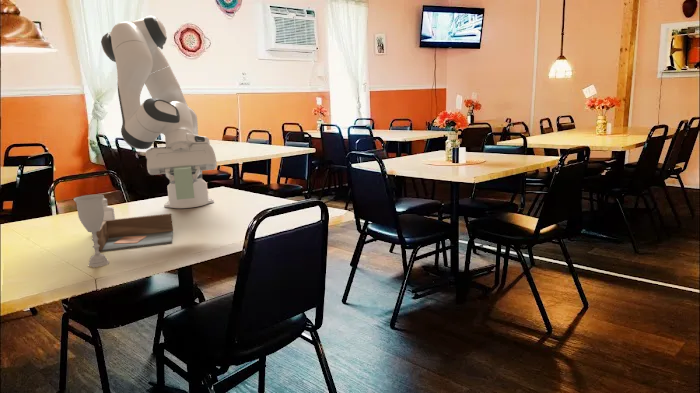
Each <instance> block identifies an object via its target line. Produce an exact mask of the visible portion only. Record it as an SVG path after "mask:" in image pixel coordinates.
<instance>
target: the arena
mask: <svg viewBox="0 0 700 393" xmlns="http://www.w3.org/2000/svg"><path fill="white" fill-rule="evenodd" d="M172 216H173V215H172V213H164V214H163V213H162V214H154V215H144V216H134V217H133V216H132V217H124V218H115V219H113V220H103V222H102V225H101V227H100V230H99V231H97V232H96V235H97V238H98V242H97V243H98V245H100V246H99V252H100V253H101V252H109V251H119V250H126V249H135V248H143V247H144V248H145V247H150V246H151V247H152V246H153V247H154V246H161V245H167V244H168V245H169V244H173V237H174V226H173V217H172Z"/></svg>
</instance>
